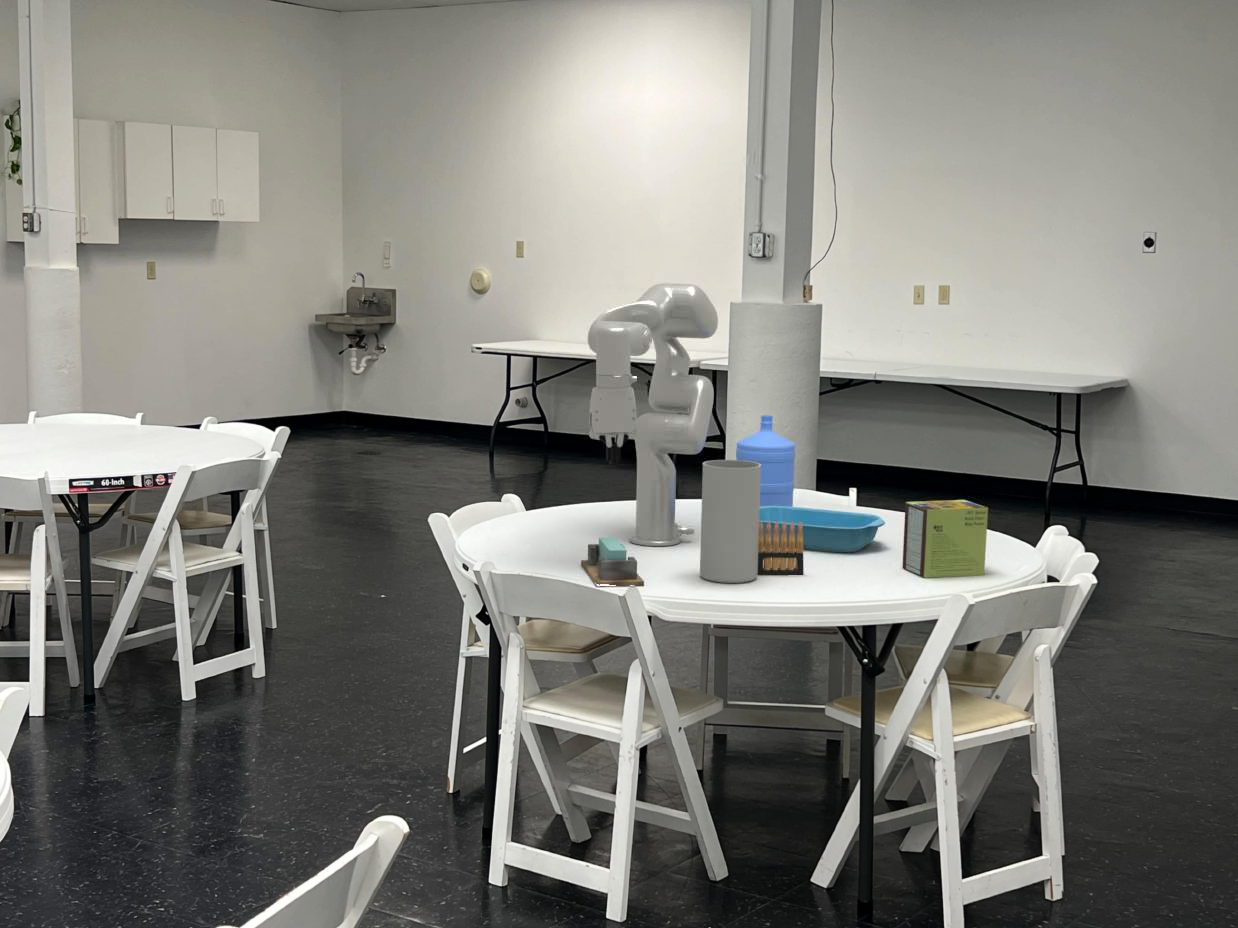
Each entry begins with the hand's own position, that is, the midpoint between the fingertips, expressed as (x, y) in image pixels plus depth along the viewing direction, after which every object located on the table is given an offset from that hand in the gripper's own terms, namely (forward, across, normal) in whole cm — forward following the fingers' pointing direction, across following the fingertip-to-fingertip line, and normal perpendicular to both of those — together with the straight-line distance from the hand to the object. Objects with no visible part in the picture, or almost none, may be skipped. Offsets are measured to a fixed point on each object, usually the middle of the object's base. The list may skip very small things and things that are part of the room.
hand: (613, 463), depth 311 cm
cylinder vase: (+23, -22, +16) cm, 36 cm away
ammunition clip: (+24, -34, +14) cm, 44 cm away
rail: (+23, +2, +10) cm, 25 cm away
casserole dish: (+26, -53, -20) cm, 62 cm away
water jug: (+27, -50, -50) cm, 76 cm away
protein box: (+25, -72, +16) cm, 78 cm away
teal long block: (+22, +2, +11) cm, 24 cm away
